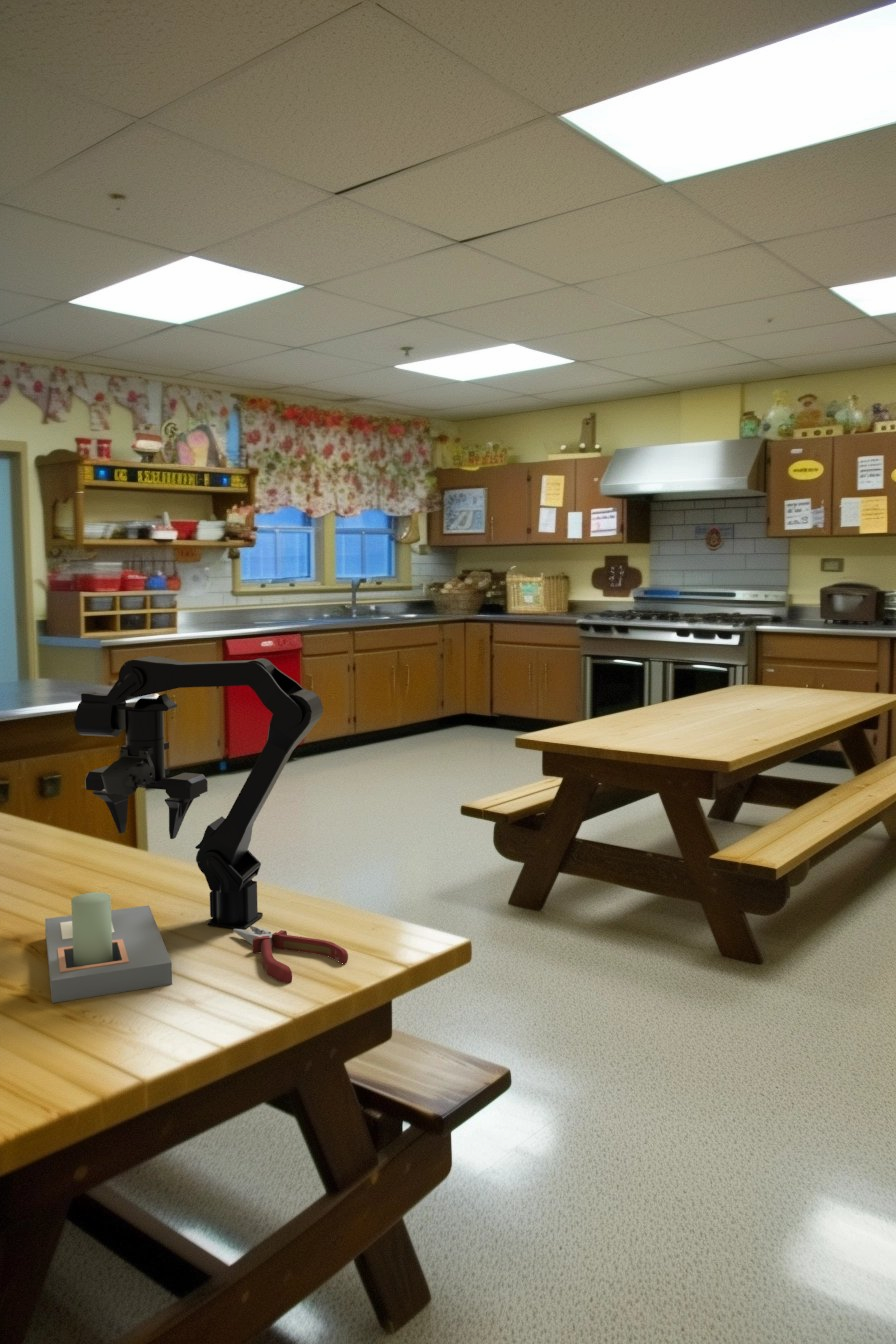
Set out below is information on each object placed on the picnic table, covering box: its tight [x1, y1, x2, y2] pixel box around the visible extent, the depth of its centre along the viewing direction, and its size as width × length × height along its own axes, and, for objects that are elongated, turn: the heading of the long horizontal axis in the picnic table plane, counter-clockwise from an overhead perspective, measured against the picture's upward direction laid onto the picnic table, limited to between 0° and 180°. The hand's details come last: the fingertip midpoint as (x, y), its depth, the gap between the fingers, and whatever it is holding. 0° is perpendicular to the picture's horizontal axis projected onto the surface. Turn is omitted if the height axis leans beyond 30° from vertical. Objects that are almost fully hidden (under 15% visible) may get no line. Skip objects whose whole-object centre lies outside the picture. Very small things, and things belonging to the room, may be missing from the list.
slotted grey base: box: [44, 904, 173, 1004], centre depth 144 cm, size 24×15×3 cm, turn 23°
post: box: [70, 891, 113, 967], centre depth 138 cm, size 5×5×11 cm
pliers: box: [232, 924, 349, 984], centre depth 147 cm, size 12×20×3 cm, turn 42°
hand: (147, 835), depth 160 cm, fingers open, 9 cm apart
